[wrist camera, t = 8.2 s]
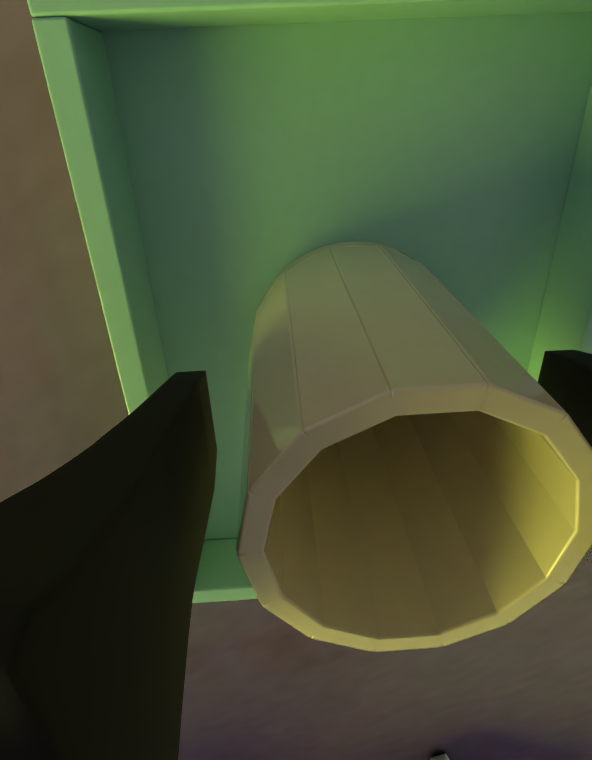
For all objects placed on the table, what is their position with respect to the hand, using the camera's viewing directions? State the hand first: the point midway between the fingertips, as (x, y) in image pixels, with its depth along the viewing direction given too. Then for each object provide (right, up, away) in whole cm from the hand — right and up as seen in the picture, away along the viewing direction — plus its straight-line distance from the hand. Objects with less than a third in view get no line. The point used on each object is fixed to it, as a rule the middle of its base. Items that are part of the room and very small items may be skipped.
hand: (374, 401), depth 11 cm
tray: (0, +2, +3) cm, 3 cm away
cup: (0, +2, +3) cm, 3 cm away
